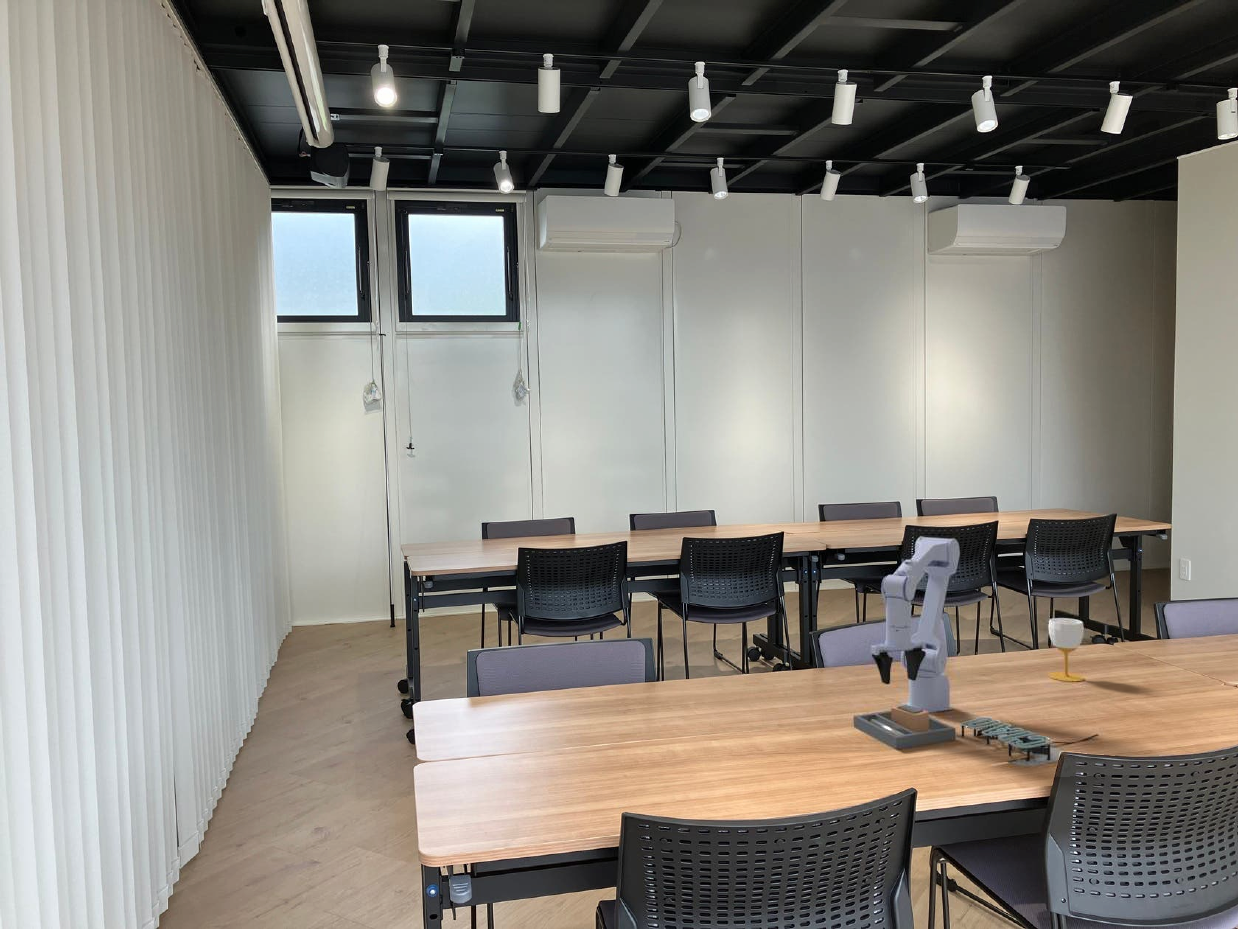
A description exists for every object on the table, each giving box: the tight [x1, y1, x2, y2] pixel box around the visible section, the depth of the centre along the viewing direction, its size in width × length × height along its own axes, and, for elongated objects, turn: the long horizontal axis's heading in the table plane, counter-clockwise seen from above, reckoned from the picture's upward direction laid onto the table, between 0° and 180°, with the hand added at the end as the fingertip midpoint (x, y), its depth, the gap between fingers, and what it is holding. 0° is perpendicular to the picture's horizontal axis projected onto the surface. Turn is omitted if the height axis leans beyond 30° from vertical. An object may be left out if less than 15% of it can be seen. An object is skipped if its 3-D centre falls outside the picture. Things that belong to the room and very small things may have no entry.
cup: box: [1047, 617, 1085, 683], centre depth 240 cm, size 9×9×16 cm
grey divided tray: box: [853, 709, 957, 750], centre depth 197 cm, size 16×16×3 cm
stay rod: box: [870, 719, 905, 736], centre depth 196 cm, size 12×2×2 cm
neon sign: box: [960, 716, 1099, 767], centre depth 192 cm, size 21×4×29 cm
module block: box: [890, 704, 930, 733], centre depth 198 cm, size 4×7×5 cm, turn 32°
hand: (898, 681), depth 204 cm, fingers open, 7 cm apart
